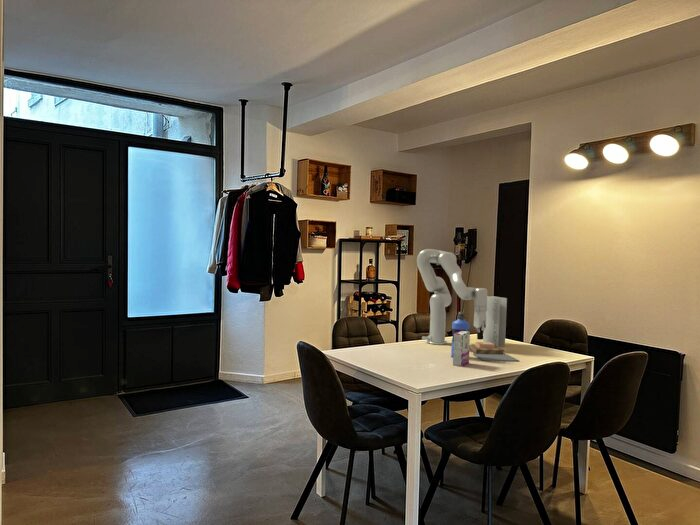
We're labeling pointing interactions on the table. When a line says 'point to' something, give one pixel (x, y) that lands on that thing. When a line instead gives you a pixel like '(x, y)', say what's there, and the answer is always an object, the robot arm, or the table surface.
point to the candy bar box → (461, 348)
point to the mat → (495, 357)
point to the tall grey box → (495, 320)
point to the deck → (485, 350)
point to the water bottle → (459, 327)
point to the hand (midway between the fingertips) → (480, 339)
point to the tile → (484, 344)
